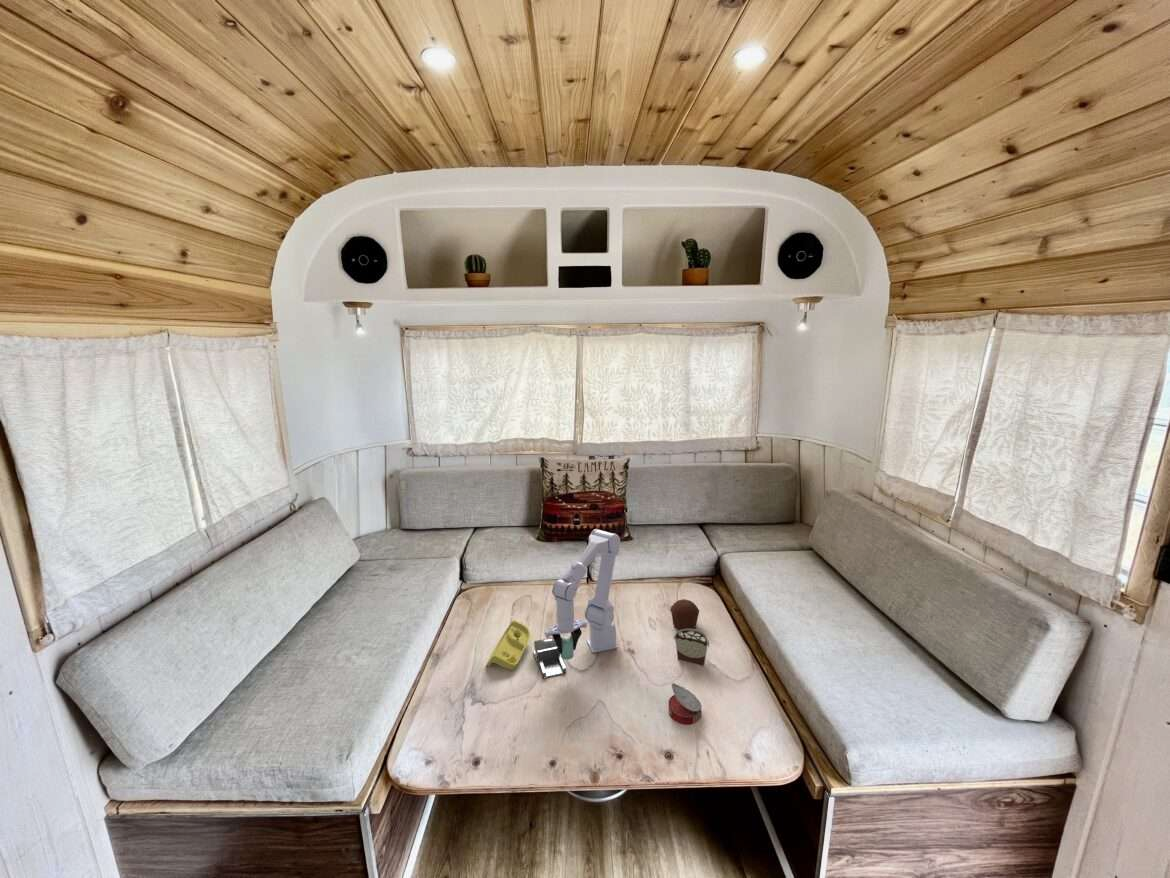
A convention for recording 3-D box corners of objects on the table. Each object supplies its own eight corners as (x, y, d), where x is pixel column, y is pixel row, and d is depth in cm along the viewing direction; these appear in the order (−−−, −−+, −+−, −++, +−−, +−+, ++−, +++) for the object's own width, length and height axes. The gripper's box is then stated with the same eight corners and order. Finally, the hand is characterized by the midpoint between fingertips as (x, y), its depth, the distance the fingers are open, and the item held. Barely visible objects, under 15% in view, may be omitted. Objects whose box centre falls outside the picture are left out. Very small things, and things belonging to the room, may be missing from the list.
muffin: (697, 636, 186) (697, 612, 184) (668, 631, 190) (668, 608, 188) (700, 619, 197) (700, 596, 195) (672, 615, 201) (673, 592, 199)
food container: (711, 657, 174) (712, 632, 172) (708, 667, 168) (709, 642, 166) (677, 648, 179) (678, 624, 177) (673, 658, 173) (673, 633, 171)
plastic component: (516, 667, 168) (490, 653, 169) (509, 681, 171) (484, 668, 171) (533, 629, 187) (510, 617, 187) (526, 643, 189) (504, 631, 190)
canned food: (676, 713, 154) (680, 680, 157) (705, 725, 148) (709, 690, 150) (658, 717, 146) (663, 682, 149) (688, 730, 140) (693, 693, 142)
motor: (560, 646, 182) (559, 631, 181) (571, 672, 168) (570, 656, 167) (533, 651, 179) (532, 637, 178) (541, 678, 165) (541, 663, 164)
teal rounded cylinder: (572, 650, 168) (572, 633, 167) (574, 658, 164) (573, 641, 163) (560, 652, 168) (559, 635, 166) (561, 660, 163) (560, 642, 162)
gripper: (580, 603, 169) (581, 638, 172) (541, 613, 164) (542, 649, 167) (588, 613, 163) (589, 649, 166) (547, 624, 157) (549, 661, 160)
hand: (566, 650), depth 166 cm, fingers closed on teal rounded cylinder, 4 cm apart
